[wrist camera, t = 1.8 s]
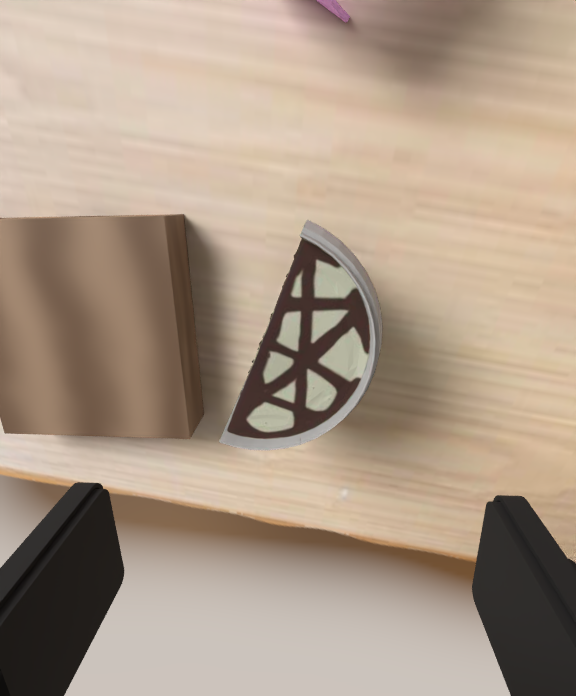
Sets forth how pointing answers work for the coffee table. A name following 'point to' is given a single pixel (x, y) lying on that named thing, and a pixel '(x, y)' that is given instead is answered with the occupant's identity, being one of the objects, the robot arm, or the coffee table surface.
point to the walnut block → (97, 327)
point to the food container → (310, 350)
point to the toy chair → (335, 9)
